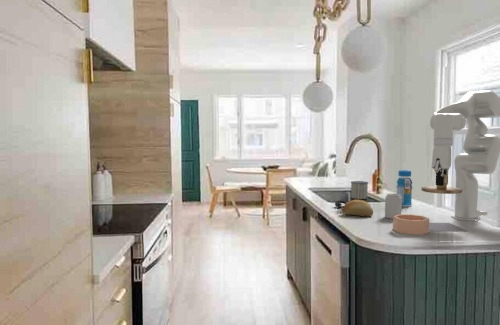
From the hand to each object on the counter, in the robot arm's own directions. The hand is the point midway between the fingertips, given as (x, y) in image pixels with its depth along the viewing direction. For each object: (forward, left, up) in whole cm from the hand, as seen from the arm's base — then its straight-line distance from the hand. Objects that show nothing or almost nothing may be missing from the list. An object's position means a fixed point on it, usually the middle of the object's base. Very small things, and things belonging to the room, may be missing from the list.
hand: (441, 184), depth 181 cm
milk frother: (+27, -48, -19) cm, 58 cm away
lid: (0, 0, -3) cm, 3 cm away
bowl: (+16, +7, -19) cm, 26 cm away
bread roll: (+29, -28, -19) cm, 44 cm away
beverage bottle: (-5, -57, -19) cm, 60 cm away
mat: (0, 0, -19) cm, 19 cm away
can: (+14, -20, -19) cm, 31 cm away
